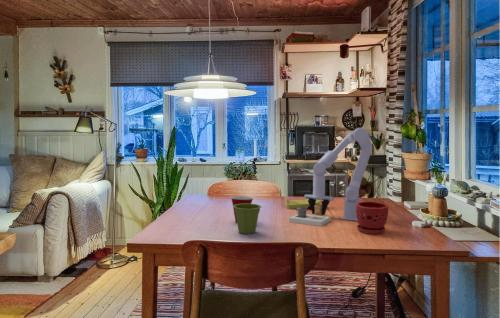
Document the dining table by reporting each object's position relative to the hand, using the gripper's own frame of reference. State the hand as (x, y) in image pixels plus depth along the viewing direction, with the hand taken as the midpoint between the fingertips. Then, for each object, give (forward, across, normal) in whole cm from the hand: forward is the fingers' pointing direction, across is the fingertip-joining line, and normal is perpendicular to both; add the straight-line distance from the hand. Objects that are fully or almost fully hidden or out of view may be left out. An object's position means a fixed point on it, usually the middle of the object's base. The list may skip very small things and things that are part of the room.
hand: (318, 214), depth 209 cm
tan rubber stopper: (+1, 0, 0) cm, 1 cm away
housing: (+1, 0, -11) cm, 11 cm away
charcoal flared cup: (+2, -4, -11) cm, 12 cm away
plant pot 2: (+2, +30, -15) cm, 34 cm away
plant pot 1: (+2, -15, -43) cm, 46 cm away
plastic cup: (+2, -27, -28) cm, 39 cm away
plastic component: (+2, -16, +18) cm, 25 cm away
